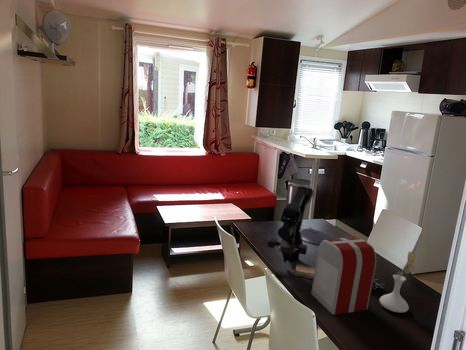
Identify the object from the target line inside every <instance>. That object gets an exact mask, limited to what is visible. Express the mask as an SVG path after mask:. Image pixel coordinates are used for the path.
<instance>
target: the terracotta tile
mask: <svg viewBox="0 0 466 350" xmlns="http://www.w3.org/2000/svg"><path fill="white" fill-rule="evenodd" d="M314 268H315V267H314ZM314 268H309V267H303V266H298V265H297V264H296V265H295V271H296V272H300V273H305V274H309V275H313V276H314V272H315V269H314Z"/></svg>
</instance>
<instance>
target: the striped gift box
mask: <svg viewBox="0 0 466 350" xmlns="http://www.w3.org/2000/svg"><path fill="white" fill-rule="evenodd" d="M376 266H377V253H376V250H375V248H374V246H372V245H371V244H370V243H368V242H367V241H366V240H364V239H361V238H359V237H347V238H345V237H340V238H336V239H330V240H323V241H322V242H321V244H320V245H319V246H318V249H317V255H316V261H315V267H314V268H315V272H314V279H312V286H311V292H310V294H311V296H313V297H314V298H315V299H316V300H317V301H318V302H319V303H320V304H321V305H322V306H323V307H324V308H325V309H326V310H327V311H328V312H329V313H330V314H331V315H341V314H346V313H347V314H349V313H354V312H359V311H366V310H368V308H369V302H370V298H371V291H372V287H373V281H374V276H375V271H376Z"/></svg>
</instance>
